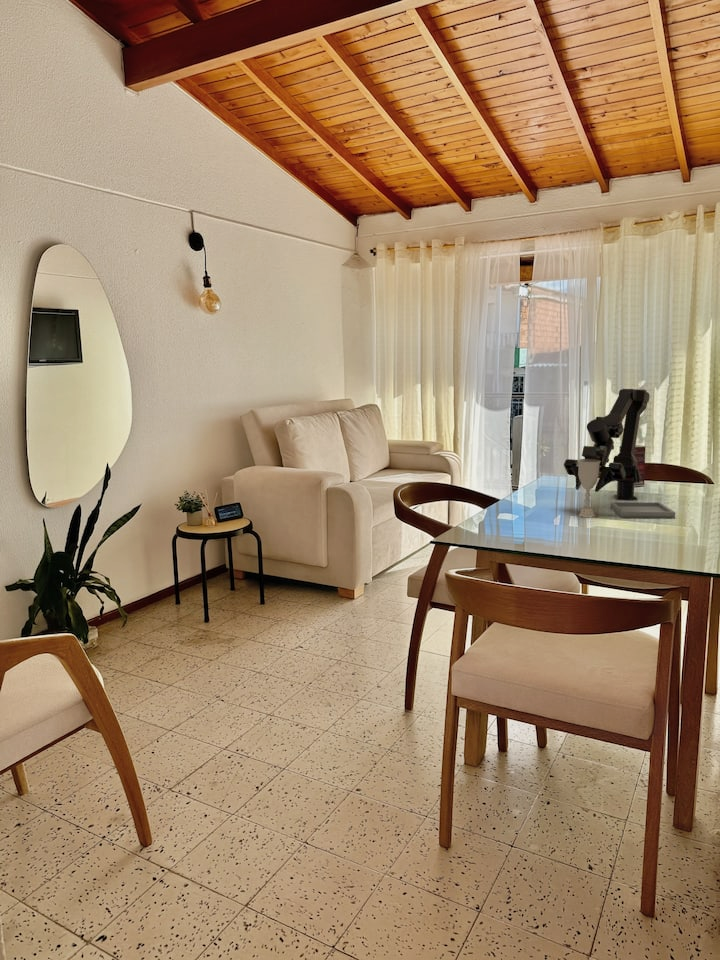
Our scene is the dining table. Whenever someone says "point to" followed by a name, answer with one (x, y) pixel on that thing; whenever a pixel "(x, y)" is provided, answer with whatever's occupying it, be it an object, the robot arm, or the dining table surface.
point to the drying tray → (642, 510)
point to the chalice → (588, 481)
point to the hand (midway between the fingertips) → (586, 490)
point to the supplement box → (640, 462)
